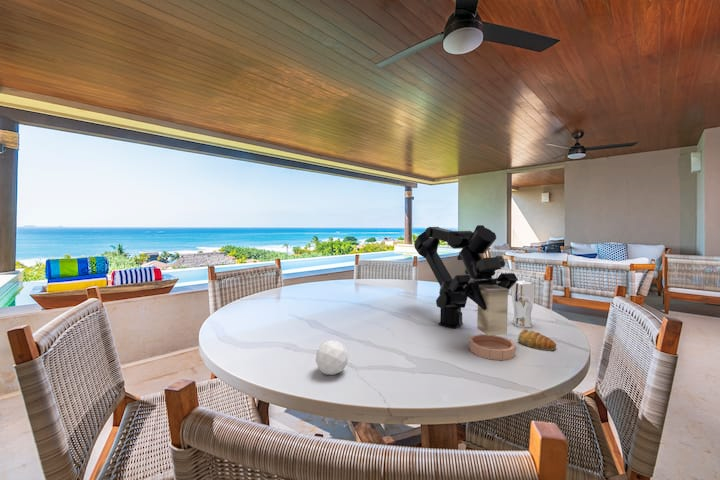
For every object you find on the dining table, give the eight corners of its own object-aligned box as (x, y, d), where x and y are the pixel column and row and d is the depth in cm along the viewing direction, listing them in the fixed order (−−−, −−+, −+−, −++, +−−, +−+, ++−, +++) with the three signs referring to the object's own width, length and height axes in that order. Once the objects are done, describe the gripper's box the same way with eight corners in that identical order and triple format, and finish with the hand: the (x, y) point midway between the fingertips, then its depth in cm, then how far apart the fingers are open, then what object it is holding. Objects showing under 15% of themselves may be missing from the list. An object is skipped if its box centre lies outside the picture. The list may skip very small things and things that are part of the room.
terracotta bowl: (462, 351, 85) (462, 342, 85) (478, 339, 94) (478, 331, 94) (507, 364, 77) (507, 354, 77) (519, 349, 86) (520, 341, 86)
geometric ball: (323, 385, 73) (303, 357, 74) (344, 362, 79) (325, 337, 79) (338, 381, 68) (317, 351, 68) (360, 357, 74) (340, 330, 74)
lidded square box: (476, 328, 88) (477, 285, 87) (494, 326, 89) (495, 284, 88) (488, 335, 82) (489, 290, 81) (507, 334, 83) (508, 289, 82)
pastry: (559, 348, 88) (560, 335, 87) (550, 354, 83) (551, 341, 83) (525, 338, 95) (525, 326, 95) (515, 344, 91) (515, 331, 90)
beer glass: (537, 328, 103) (538, 284, 102) (517, 328, 103) (517, 284, 102) (527, 321, 110) (527, 280, 109) (507, 321, 110) (508, 280, 109)
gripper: (455, 247, 86) (475, 295, 76) (514, 245, 89) (541, 291, 79) (442, 270, 94) (459, 316, 84) (497, 268, 97) (520, 312, 87)
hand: (495, 308), depth 84 cm, fingers closed on lidded square box, 5 cm apart
